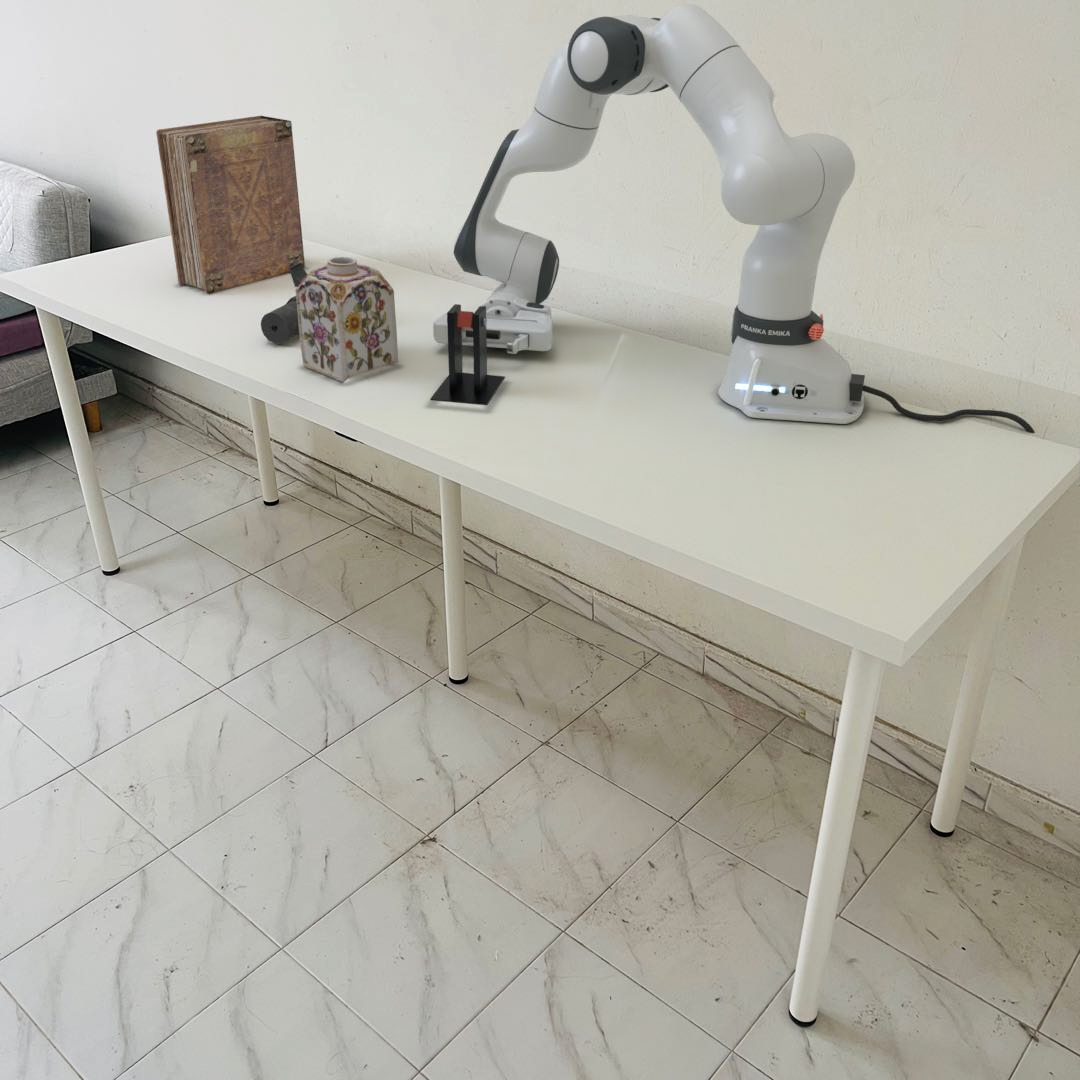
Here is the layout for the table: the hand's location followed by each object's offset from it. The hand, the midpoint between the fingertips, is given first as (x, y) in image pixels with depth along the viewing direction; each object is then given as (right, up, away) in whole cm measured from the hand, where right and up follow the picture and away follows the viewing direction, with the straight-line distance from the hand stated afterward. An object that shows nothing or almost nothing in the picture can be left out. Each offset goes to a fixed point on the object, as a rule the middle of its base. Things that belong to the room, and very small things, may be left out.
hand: (483, 346), depth 178 cm
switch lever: (-1, +1, -6) cm, 6 cm away
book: (-53, +23, +50) cm, 76 cm away
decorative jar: (-22, -3, +4) cm, 23 cm away
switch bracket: (-2, -8, -6) cm, 10 cm away
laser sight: (-33, +8, +22) cm, 40 cm away
